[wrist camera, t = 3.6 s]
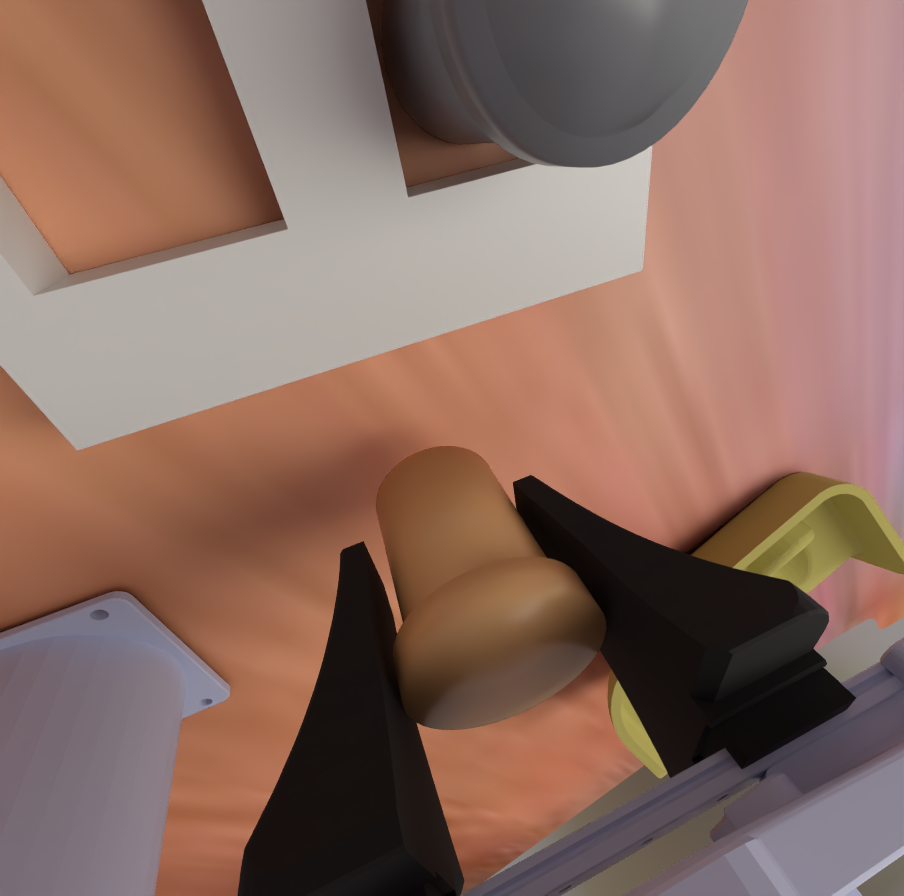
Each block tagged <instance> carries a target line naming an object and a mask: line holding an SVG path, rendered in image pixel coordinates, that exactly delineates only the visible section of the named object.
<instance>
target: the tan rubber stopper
mask: <svg viewBox="0 0 904 896" xmlns="http://www.w3.org/2000/svg"><path fill="white" fill-rule="evenodd" d="M376 512H377V516H378V520H379V524H380V529H381V533H382V537H383V541H384V545H385V550H386V554H387V558H388V562H389V566H390V570H391V575H392V579H393V583H394V587H395V591H396V595H397V600H398V604H399V608H400V612H401V616H402V620H403V624H402V625H401V627H400V629H399V631H398V633H397V635H396V638H395V642H394V646H393V659H394V665H395V670H396V675H397V680H398V684H399V689H400V694H401V699H402V704H403V707H404V710H405V712H406V713H407V715H408V716H409V717H410V718H411V719H412V720H414V721H415V722H417V723H419V724H421V725H423V726H426V727H429V728H434V729H441V730H458V729H468V728H474V727H479V726H484V725H488V724H491V723H495V722H498V721H501V720H504V719H507V718H510V717H512V716H515V715H517V714H519V713H522V712H524V711H526V710H528V709H530V708H532V707H534V706H536V705H538V704H540V703H541V702H543V701H545V700H546V699H548V698H550V697H551V696H553V695H554V694H556V693H557V692H559V691H560V690H561V689H563V688H564V687H565V686H567V685H568V684H569V683H570V682H572V681H573V680H574V679H575V678H576V677H577V676H578V675H579V674H580V673H581V672H582V671H583V670H584V669H585V668H586V667H587V666H588V665H589V664H590V662H591V661H592V660H593V659H594V657H595V656H596V654H597V653H598V651H599V649H600V647H601V645H602V643H603V641H604V638H605V634H606V619H605V616H604V613H603V612H602V610H601V609H600V607H599V606H598V604H597V603H596V601H595V600H594V598H593V597H592V595H591V594H590V592H589V591H588V590H587V588H586V587H585V585H584V584H583V582H582V581H581V579H580V578H579V576H578V575H577V573H576V572H575V571H574V570H573V569H572V568H571V567H569V566H567V565H566V564H564V563H562V562H560V561H557V560H554V559H549V558H547V557H546V556H545V554H544V553H543V551H542V549H541V548H540V546H539V545H538V543H537V541H536V540H535V538H534V537H533V535H532V533H531V532H530V530H529V529H528V527H527V526H526V524H525V522H524V521H523V519H522V518H521V516H520V514H519V513H518V511H517V510H516V508H515V506H514V505H513V503H512V502H511V500H510V499H509V497H508V495H507V494H506V492H505V491H504V489H503V487H502V486H501V484H500V483H499V481H498V480H497V478H496V476H495V475H494V473H493V472H492V470H491V468H490V467H489V465H488V464H487V462H486V461H485V460H484V459H483V458H482V457H481V456H479V455H478V454H477V453H475V452H473V451H471V450H468V449H465V448H461V447H455V446H440V447H434V448H429V449H426V450H423V451H420V452H418V453H415V454H413V455H411V456H409V457H407V458H406V459H404V460H403V461H401V462H400V463H399V464H398V465H397V466H395V467H394V468H393V469H392V470H391V471H390V472H389V473H388V475H387V476H386V477H385V479H384V480H383V482H382V484H381V486H380V488H379V491H378V493H377V498H376Z"/></svg>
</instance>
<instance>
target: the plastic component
mask: <svg viewBox="0 0 904 896" xmlns="http://www.w3.org/2000/svg"><path fill="white" fill-rule="evenodd" d="M691 555H692V556H695V557H698V558H701V559H704V560H707V561H710V562H714V563H717V564H721V565H725V566H728V567H732V568H735V569H739V570H743V571H748V572H752V573H757V574H761V575H766V576H770V577H775V578H779V579H784V580H788V581H790V582H791V583H793V584H794V585H795V586H797V587H798V588H800V589H801V590H802V591H804V592H805V593H806V594H807V593H808V592H810V591H811V590H812V589H813V588H814V587H815V586H817V585H818V584H819V583H820V582H821V581H823V580H824V579H825V578H826V577H827V576H829V575H830V574H831V573H832V572H833V571H834V570H836V569H837V568H838V567H839V566H840V565H842V564H843V563H844V562H845V561H846V560H848V559H849V558H850V557H852V558H855V559H858V560H861V561H864V562H867V563H869V564H872V565H875V566H878V567H881V568H884V569H887V570H890V571H893V572H896V573H899V574H904V544H903V542H902V541H901V539H900V537H899V536H898V534H897V533H896V531H895V530H894V528H893V527H892V525H891V524H890V522H889V521H888V519H887V518H886V516H885V515H884V513H883V512H882V510H881V508H880V507H879V505H878V504H877V502H876V501H875V499H874V498H873V496H872V495H871V494H870V493H869V492H868V491H867V490H866V489H865V488H862V487H860V486H858V485H855V484H851V483H847V482H843V481H840V480H836V479H832V478H828V477H824V476H820V475H816V474H812V473H794V474H791V475H788V476H786V477H784V478H782V479H781V480H779V481H778V482H777V483H775V484H774V485H773V486H771V487H770V488H769V489H768V490H766V491H765V492H764V493H763V494H761V495H760V496H759V497H758V498H757V499H755V500H754V501H753V502H752V503H751V504H750V505H748V506H747V507H746V508H745V509H744V510H743V511H741V512H740V513H739V514H738V515H737V516H736V517H734V518H733V519H732V520H731V521H730V522H729V523H727V524H726V525H725V526H724V527H723V528H722V529H720V530H719V531H718V532H717V533H716V534H715V535H713V536H712V537H711V538H710V539H709V540H708V541H706V542H705V543H704V544H703V545H702V546H701V547H699V548H698V549H697V550H696V551H695V552H694V553H692V554H691ZM608 708H609V714H610V718H611V721H612V723H613V726H614V728H615V730H616V733H617V735H618V736H619V738H620V739H621V741H622V742H623V743H624V745H625V746H626V747H627V748H628V749H629V750H630V751H631V752H632V753H633V754H634V755H635V756H636V757H637V758H638V759H639V760H640V761H641V762H642V763H643V764H644V765H646V766H647V767H648V768H649V769H650V770H651V771H652V772H653V773H654V774H655V775H656V776H657V777H658V778H662V777H663V776H665V775H666V774H667V771H666V769H665V767H664V765H663V763H662V761H661V759H660V757H659V755H658V753H657V751H656V749H655V747H654V746H653V744H652V742H651V740H650V738H649V736H648V734H647V732H646V730H645V729H644V727H643V725H642V723H641V721H640V719H639V717H638V716H637V714H636V712H635V710H634V708H633V707H632V705H631V703H630V701H629V699H628V698H627V696H626V694H625V692H624V690H623V689H622V687H621V685H620V683H619V681H618V680H617V678H616V676H615V675H614V673H613V671H612V669H611V670H610V674H609V681H608Z"/></svg>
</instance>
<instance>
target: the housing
mask: <svg viewBox="0 0 904 896" xmlns="http://www.w3.org/2000/svg"><path fill="white" fill-rule="evenodd" d="M202 2H203V4H204V7H205V10H206V12H207V15H208V18H209V20H210V23H211V26H212V28H213V31H214V34H215V36H216V39H217V41H218V44H219V47H220V49H221V52H222V55H223V57H224V60H225V63H226V65H227V68H228V71H229V73H230V76H231V79H232V81H233V84H234V87H235V89H236V92H237V95H238V97H239V100H240V103H241V105H242V108H243V110H244V113H245V116H246V118H247V121H248V124H249V126H250V129H251V132H252V134H253V137H254V140H255V142H256V145H257V148H258V150H259V153H260V156H261V158H262V161H263V164H264V166H265V169H266V172H267V174H268V177H269V179H270V182H271V185H272V187H273V190H274V193H275V195H276V198H277V201H278V203H279V206H280V209H281V211H282V214H283V217H284V219H282V220H278V221H274V222H270V223H266V224H263V225H259V226H255V227H251V228H247V229H243V230H239V231H235V232H232V233H228V234H224V235H220V236H216V237H212V238H208V239H204V240H201V241H197V242H193V243H189V244H185V245H181V246H177V247H174V248H170V249H166V250H162V251H158V252H154V253H150V254H146V255H143V256H139V257H135V258H131V259H127V260H123V261H119V262H115V263H112V264H108V265H104V266H100V267H96V268H92V269H88V270H84V271H81V272H77V273H73V274H68V272H67V271H66V269H65V268H64V266H63V265H62V264H61V262H60V261H59V259H58V258H57V256H56V255H55V253H54V252H53V251H52V249H51V248H50V246H49V245H48V243H47V242H46V241H45V239H44V238H43V236H42V235H41V233H40V232H39V231H38V229H37V228H36V226H35V225H34V223H33V222H32V220H31V219H30V218H29V216H28V215H27V213H26V212H25V210H24V209H23V208H22V206H21V205H20V203H19V202H18V200H17V199H16V197H15V196H14V195H13V193H12V192H11V190H10V189H9V187H8V186H7V185H6V183H5V182H4V180H3V179H2V177H1V176H0V365H1V367H2V368H3V369H4V370H5V371H6V372H7V373H8V374H9V375H10V377H11V378H12V379H13V380H14V381H15V382H16V383H17V384H18V385H19V387H20V388H21V389H22V390H23V391H24V392H25V393H26V394H27V395H28V397H29V398H30V399H31V400H32V401H33V402H34V403H35V404H36V405H37V407H38V408H39V409H40V410H41V411H42V412H43V413H44V414H45V415H46V417H47V418H48V419H49V420H50V421H51V422H52V423H53V424H54V425H55V427H56V428H57V429H58V430H59V431H60V432H61V433H62V434H63V435H64V437H65V438H66V439H67V440H68V441H69V442H70V443H71V444H72V445H73V447H74V448H75V449H76V450H80V449H83V448H87V447H90V446H93V445H96V444H99V443H102V442H105V441H109V440H112V439H115V438H118V437H121V436H124V435H127V434H131V433H134V432H137V431H140V430H143V429H146V428H149V427H152V426H156V425H159V424H162V423H165V422H168V421H171V420H174V419H178V418H181V417H184V416H187V415H190V414H193V413H196V412H200V411H203V410H206V409H209V408H212V407H215V406H218V405H221V404H225V403H228V402H231V401H234V400H237V399H240V398H243V397H247V396H250V395H253V394H256V393H259V392H262V391H265V390H269V389H272V388H275V387H278V386H281V385H284V384H287V383H290V382H294V381H297V380H300V379H303V378H306V377H309V376H312V375H316V374H319V373H322V372H325V371H328V370H331V369H334V368H338V367H341V366H344V365H347V364H350V363H353V362H356V361H359V360H363V359H366V358H369V357H372V356H375V355H378V354H381V353H385V352H388V351H391V350H394V349H397V348H400V347H403V346H407V345H410V344H413V343H416V342H419V341H422V340H425V339H428V338H432V337H435V336H438V335H441V334H444V333H447V332H450V331H454V330H457V329H460V328H463V327H466V326H469V325H472V324H476V323H479V322H482V321H485V320H488V319H491V318H494V317H497V316H501V315H504V314H507V313H510V312H513V311H516V310H519V309H523V308H526V307H529V306H532V305H535V304H538V303H541V302H545V301H548V300H551V299H554V298H557V297H560V296H563V295H566V294H570V293H573V292H576V291H579V290H582V289H585V288H588V287H592V286H595V285H598V284H601V283H604V282H607V281H610V280H614V279H617V278H620V277H623V276H626V275H629V274H632V273H635V272H639V271H642V270H643V257H644V245H645V232H646V219H647V207H648V194H649V181H650V169H651V156H652V146H650V147H649V148H647V149H646V150H644V151H642V152H641V153H639V154H637V155H635V156H633V157H631V158H629V159H627V160H624V161H621V162H618V163H615V164H612V165H607V166H602V167H593V168H578V167H557V166H545V165H540V164H534V163H531V162H528V161H526V160H523V159H520V158H518V159H514V160H510V161H507V162H503V163H499V164H495V165H491V166H487V167H483V168H479V169H476V170H472V171H468V172H464V173H460V174H456V175H452V176H449V177H445V178H441V179H437V180H433V181H429V182H425V183H421V184H418V185H414V186H410V187H406V185H405V180H404V176H403V171H402V166H401V162H400V157H399V152H398V148H397V143H396V138H395V134H394V129H393V124H392V120H391V115H390V110H389V106H388V101H387V97H386V92H385V87H384V83H383V78H382V73H381V69H380V64H379V59H378V55H377V50H376V45H375V41H374V36H373V31H372V27H371V22H370V18H369V13H368V8H367V4H366V0H202Z"/></svg>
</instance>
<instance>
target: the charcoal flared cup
mask: <svg viewBox="0 0 904 896" xmlns="http://www.w3.org/2000/svg"><path fill="white" fill-rule="evenodd" d="M747 2H748V0H383V2H382V9H381V43H382V50H383V56H384V61H385V65H386V69H387V73H388V76H389V78H390V81H391V84H392V87H393V89H394V91H395V93H396V95H397V97H398V99H399V101H400V102H401V104H402V105H403V107H404V109H405V110H406V111H407V113H408V114H409V115H410V116H411V118H412V119H413V120H414V121H415V122H416V123H417V124H418V125H419V126H420V127H421V128H422V129H424V130H425V131H426V132H428V133H429V134H431V135H433V136H434V137H436V138H438V139H441V140H443V141H446V142H450V143H455V144H475V143H497V144H498V145H499V146H500V147H501V148H503V149H504V150H506V151H507V152H509V153H511V154H513V155H514V156H516V157H518V158H520V159H523V160H526V161H528V162H531V163H534V164H540V165H545V166H557V167H578V168H593V167H602V166H607V165H612V164H615V163H618V162H621V161H624V160H627V159H629V158H631V157H633V156H635V155H637V154H639V153H641V152H642V151H644V150H646V149H647V148H649V147H650V146H652V145H653V144H654V143H656V142H657V141H658V140H660V139H661V138H662V137H663V136H665V135H666V134H667V133H668V132H669V131H670V130H671V129H672V128H673V127H674V126H676V125H677V124H678V122H679V121H680V120H681V119H682V118H683V117H684V116H685V115H686V114H687V112H688V111H689V110H690V109H691V108H692V107H693V105H694V104H695V103H696V101H697V100H698V98H699V97H700V96H701V94H702V93H703V92H704V90H705V89H706V87H707V86H708V84H709V83H710V81H711V79H712V78H713V76H714V74H715V73H716V71H717V70H718V68H719V66H720V64H721V62H722V60H723V58H724V56H725V55H726V53H727V51H728V49H729V47H730V45H731V43H732V40H733V38H734V36H735V33H736V31H737V29H738V26H739V24H740V22H741V19H742V17H743V14H744V11H745V8H746V5H747Z"/></svg>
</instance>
